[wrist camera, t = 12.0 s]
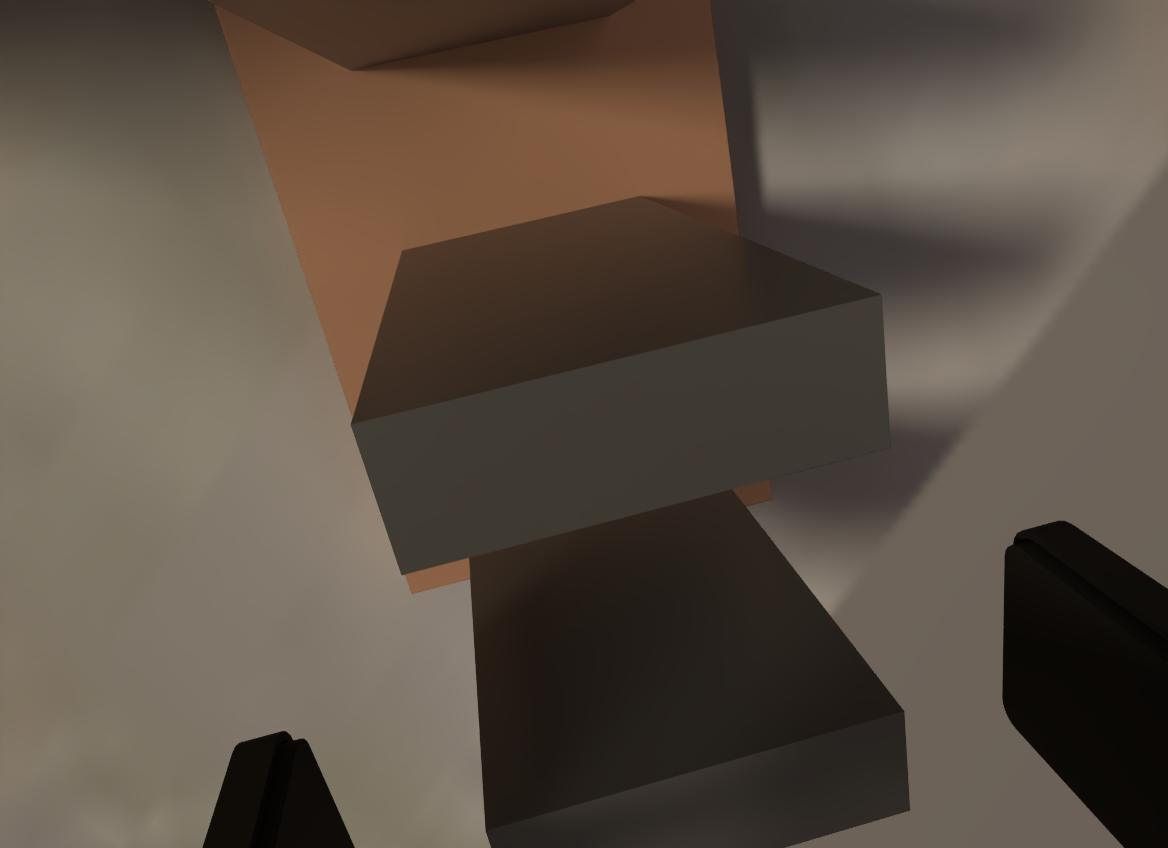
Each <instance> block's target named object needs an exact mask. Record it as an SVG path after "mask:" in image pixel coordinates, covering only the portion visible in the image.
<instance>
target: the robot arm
mask: <svg viewBox="0 0 1168 848" xmlns="http://www.w3.org/2000/svg"><path fill="white" fill-rule="evenodd" d="M1004 572H1005V573H1004V576H1005V577H1004V634H1003V695H1002V697H1003V705H1004V708H1005V711H1006V714H1007V715H1008V718H1009V720H1010V721H1011V723H1012V724H1013V726H1014V727H1015V728H1016V729H1017V731H1018V732H1019V733H1020V734H1021V735H1022V736H1023V737H1024V738H1025V739H1026V740H1027V741H1028V743H1029V744H1030V745H1031V746H1032V747H1033V748H1034V749H1035V750H1036V751H1037V752H1038V754H1039V755H1040V756H1041V757H1042V758H1043V759H1044V760H1045V761H1046V762H1047V763H1048V765H1050V767H1051V768H1052V769H1053V770H1054V771H1055V772H1056V773H1057V774H1058V776H1059V777H1060V778H1061V779H1062V780H1063V781H1064V782H1065V783H1066V784H1067V785H1068V787H1069V788H1070V789H1071V790H1072V791H1073V792H1074V793H1075V794H1076V795H1077V796H1078V797H1079V799H1081V801H1082V802H1083V803H1084V804H1085V805H1086V806H1087V807H1088V808H1089V809H1090V811H1091V812H1092V813H1093V814H1094V815H1095V816H1096V817H1097V818H1098V819H1099V821H1100V822H1101V823H1102V824H1103V825H1104V826H1105V827H1106V828H1107V829H1108V830H1109V832H1110V833H1111V834H1112V835H1114V837H1115V838H1116V839H1117V840H1118V841H1119V842H1120V844H1122V845H1123V847H1124V848H1168V589H1167V588H1165V587H1164V586H1162V585H1161V584H1160V583H1158V582H1157V581H1155V580H1154V579H1152V578H1151V577H1149V576H1148V575H1146V574H1145V573H1143V572H1142V571H1140V570H1139V569H1137V568H1136V567H1134V566H1133V565H1131V564H1130V563H1128V562H1127V561H1126V560H1124V559H1123V558H1121V557H1120V556H1118V555H1117V554H1115V553H1114V552H1112V551H1111V550H1109V549H1108V548H1106V547H1105V546H1103V545H1102V544H1100V543H1099V542H1097V541H1096V540H1095V539H1093V538H1092V537H1090V536H1089V535H1087V534H1086V533H1084V532H1083V531H1081V530H1080V529H1078V528H1077V527H1075V526H1074V525H1072V524H1070V523H1068V522H1066V521H1056V522H1052V523H1048V524H1045V525H1041V526H1037V527H1034V528H1030V529H1027V530H1023V531H1021V532H1018V533H1017V534H1016V536H1015V538H1014V543H1013V545H1011V546H1009V547H1008V548H1007V549H1006V552H1005V571H1004ZM203 848H355V847H354V845H353V843H352V840H351V838H350V836H349V834H348V831H347V829H346V827H345V825H344V822H343V820H342V818H341V816H340V813H339V811H338V809H337V806H336V804H335V802H334V800H333V797H332V795H331V793H330V791H329V788H328V786H327V784H326V782H325V779H324V777H323V775H322V773H321V770H320V768H319V766H318V764H317V761H316V759H315V757H314V755H313V752H312V750H311V748H310V746H309V744H308V742H307V741H306V740H305V739H298V740H294V741H293V739H292V737H291V735H290V734H289V733H287V732H286V731H281V732H278V733H274V734H270V735H267V736H263V737H259V738H256V739H252V740H248V741H244V742H241V743H239V744H238V745H236V746H235V748H234V751H233V753H232V756H231V759H230V762H229V765H228V768H227V772H226V775H225V778H224V781H223V784H222V787H221V791H220V794H219V797H218V800H217V803H216V807H215V810H214V813H213V816H212V819H211V822H210V826H209V829H208V832H207V835H206V838H205V841H204V845H203Z"/></svg>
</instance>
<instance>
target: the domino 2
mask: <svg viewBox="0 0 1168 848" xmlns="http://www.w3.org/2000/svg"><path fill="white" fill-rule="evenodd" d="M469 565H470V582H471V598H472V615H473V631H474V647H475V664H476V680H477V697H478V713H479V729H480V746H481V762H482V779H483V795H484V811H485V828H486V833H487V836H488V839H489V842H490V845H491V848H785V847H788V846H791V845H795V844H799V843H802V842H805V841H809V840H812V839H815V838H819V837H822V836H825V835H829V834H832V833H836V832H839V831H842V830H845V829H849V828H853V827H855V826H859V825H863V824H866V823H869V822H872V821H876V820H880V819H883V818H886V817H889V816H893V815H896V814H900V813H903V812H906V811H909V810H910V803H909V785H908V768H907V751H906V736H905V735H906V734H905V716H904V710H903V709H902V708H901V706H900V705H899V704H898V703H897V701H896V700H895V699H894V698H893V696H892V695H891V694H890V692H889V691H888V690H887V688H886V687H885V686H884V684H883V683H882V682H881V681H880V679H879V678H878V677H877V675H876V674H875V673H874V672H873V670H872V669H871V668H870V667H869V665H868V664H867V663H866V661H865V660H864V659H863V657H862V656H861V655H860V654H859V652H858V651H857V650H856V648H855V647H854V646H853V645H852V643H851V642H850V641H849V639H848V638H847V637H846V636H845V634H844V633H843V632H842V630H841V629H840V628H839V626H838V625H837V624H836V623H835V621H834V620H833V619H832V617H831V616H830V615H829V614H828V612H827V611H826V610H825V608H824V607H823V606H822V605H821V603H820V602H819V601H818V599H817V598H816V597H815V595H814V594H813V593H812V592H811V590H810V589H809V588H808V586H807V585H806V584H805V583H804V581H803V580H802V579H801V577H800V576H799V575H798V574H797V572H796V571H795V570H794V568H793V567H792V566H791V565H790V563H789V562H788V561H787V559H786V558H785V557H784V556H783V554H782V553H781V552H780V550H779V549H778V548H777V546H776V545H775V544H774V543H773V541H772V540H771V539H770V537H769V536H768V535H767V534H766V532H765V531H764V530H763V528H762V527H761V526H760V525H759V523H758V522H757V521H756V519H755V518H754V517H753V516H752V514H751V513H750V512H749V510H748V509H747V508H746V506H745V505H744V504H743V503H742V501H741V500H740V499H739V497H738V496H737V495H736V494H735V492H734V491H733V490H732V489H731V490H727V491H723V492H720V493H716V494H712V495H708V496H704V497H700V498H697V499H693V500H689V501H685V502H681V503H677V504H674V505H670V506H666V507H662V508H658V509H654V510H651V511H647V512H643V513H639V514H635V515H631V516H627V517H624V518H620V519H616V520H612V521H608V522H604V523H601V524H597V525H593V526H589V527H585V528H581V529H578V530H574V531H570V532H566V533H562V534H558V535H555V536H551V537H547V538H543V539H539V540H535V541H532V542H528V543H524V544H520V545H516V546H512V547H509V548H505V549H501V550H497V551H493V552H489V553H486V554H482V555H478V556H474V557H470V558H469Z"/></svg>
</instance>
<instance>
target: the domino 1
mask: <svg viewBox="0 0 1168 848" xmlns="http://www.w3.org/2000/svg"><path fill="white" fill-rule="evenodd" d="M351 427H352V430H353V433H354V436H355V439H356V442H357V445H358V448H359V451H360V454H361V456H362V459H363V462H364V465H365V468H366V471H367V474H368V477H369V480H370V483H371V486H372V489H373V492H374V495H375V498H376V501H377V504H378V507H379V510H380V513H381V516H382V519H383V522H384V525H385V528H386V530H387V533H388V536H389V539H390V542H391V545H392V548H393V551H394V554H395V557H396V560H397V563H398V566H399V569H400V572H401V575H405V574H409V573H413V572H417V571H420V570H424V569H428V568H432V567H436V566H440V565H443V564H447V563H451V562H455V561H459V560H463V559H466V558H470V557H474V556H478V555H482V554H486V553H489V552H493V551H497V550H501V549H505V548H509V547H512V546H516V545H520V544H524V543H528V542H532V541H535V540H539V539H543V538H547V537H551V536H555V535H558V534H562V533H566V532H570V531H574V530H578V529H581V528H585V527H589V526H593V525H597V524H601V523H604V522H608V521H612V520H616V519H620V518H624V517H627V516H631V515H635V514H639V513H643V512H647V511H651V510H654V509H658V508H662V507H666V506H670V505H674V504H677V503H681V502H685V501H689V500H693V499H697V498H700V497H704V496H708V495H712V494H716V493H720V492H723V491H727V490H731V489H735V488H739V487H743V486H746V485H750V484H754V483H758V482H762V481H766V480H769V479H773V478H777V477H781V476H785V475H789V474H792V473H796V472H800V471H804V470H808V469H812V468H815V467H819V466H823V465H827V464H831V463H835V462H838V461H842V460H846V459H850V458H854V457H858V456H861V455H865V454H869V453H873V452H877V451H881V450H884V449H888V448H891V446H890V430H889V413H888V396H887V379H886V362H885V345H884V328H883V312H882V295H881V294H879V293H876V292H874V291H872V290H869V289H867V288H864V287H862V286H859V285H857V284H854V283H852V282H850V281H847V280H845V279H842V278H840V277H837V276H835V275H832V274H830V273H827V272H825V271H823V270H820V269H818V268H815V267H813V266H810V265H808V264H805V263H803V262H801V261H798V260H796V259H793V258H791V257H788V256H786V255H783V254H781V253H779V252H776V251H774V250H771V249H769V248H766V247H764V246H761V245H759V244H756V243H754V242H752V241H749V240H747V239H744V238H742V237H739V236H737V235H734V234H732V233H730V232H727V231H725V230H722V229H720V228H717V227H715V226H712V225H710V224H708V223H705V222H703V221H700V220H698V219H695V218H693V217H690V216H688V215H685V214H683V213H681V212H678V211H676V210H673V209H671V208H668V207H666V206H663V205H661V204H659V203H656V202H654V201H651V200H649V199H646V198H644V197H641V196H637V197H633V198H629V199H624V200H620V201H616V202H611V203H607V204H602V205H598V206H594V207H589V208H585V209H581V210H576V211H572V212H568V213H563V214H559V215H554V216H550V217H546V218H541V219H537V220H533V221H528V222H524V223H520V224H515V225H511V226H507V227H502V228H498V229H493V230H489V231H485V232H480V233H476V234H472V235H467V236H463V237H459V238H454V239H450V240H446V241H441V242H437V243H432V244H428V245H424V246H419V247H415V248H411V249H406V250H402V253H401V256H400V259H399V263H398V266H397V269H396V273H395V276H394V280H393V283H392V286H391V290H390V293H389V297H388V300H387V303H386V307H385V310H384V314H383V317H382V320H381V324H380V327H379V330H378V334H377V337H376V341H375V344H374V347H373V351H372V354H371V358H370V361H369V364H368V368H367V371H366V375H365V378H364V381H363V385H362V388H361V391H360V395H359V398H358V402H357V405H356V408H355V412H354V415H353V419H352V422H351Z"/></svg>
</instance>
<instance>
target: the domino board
mask: <svg viewBox="0 0 1168 848" xmlns="http://www.w3.org/2000/svg"><path fill="white" fill-rule="evenodd" d="M214 7H215V10H216V13H217V16H218V19H219V22H220V25H221V28H222V31H223V34H224V37H225V40H226V43H227V46H228V49H229V52H230V55H231V58H232V61H233V64H234V67H235V70H236V73H237V76H238V79H239V82H240V84H241V87H242V90H243V93H244V96H245V99H246V102H247V105H248V108H249V111H250V114H251V117H252V120H253V123H254V126H255V129H256V132H257V135H258V138H259V141H260V144H261V147H262V150H263V153H264V156H265V159H266V162H267V165H268V168H269V171H270V174H271V177H272V180H273V183H274V186H275V189H276V192H277V195H278V198H279V201H280V204H281V207H282V210H283V212H284V215H285V218H286V221H287V224H288V227H289V230H290V233H291V236H292V239H293V242H294V245H295V248H296V251H297V254H298V257H299V260H300V263H301V266H302V269H303V272H304V275H305V278H306V281H307V284H308V287H309V290H310V293H311V296H312V299H313V302H314V305H315V308H316V311H317V314H318V317H319V320H320V323H321V326H322V329H323V332H324V335H325V338H326V341H327V343H328V346H329V349H330V352H331V355H332V358H333V361H334V364H335V367H336V370H337V373H338V376H339V379H340V382H341V385H342V388H343V391H344V394H345V397H346V400H347V403H348V406H349V409H350V412H351V415H352V418H353V415H354V412H355V408H356V405H357V402H358V398H359V395H360V391H361V388H362V385H363V381H364V378H365V375H366V371H367V368H368V364H369V361H370V358H371V354H372V351H373V347H374V344H375V341H376V337H377V334H378V330H379V327H380V324H381V320H382V317H383V314H384V310H385V307H386V303H387V300H388V297H389V293H390V290H391V286H392V283H393V280H394V276H395V273H396V269H397V266H398V263H399V259H400V256H401V253H402V250H406V249H411V248H415V247H419V246H424V245H428V244H432V243H437V242H441V241H446V240H450V239H454V238H459V237H463V236H467V235H472V234H476V233H480V232H485V231H489V230H493V229H498V228H502V227H507V226H511V225H515V224H520V223H524V222H528V221H533V220H537V219H541V218H546V217H550V216H554V215H559V214H563V213H568V212H572V211H576V210H581V209H585V208H589V207H594V206H598V205H602V204H607V203H611V202H616V201H620V200H624V199H629V198H633V197H637V196H641V197H644V198H646V199H649V200H651V201H654V202H656V203H659V204H661V205H663V206H666V207H668V208H671V209H673V210H676V211H678V212H681V213H683V214H685V215H688V216H690V217H693V218H695V219H698V220H700V221H703V222H705V223H708V224H710V225H712V226H715V227H717V228H720V229H722V230H725V231H727V232H730V233H732V234H734V235H737V236H739V237H740V235H739V227H738V219H737V211H736V203H735V195H734V187H733V179H732V171H731V163H730V155H729V147H728V139H727V130H726V122H725V114H724V106H723V98H722V90H721V82H720V74H719V66H718V58H717V50H716V42H715V34H714V26H713V18H712V10H711V2H710V0H636V1H634V2H632V3H631V4H629V5H627V6H626V7H624V8H622V9H621V10H619V11H617V12H616V13H614V14H612V15H610V16H607V17H603V18H598V19H593V20H588V21H584V22H579V23H574V24H569V25H565V26H560V27H555V28H550V29H546V30H541V31H536V32H531V33H527V34H522V35H517V36H513V37H508V38H503V39H498V40H494V41H489V42H484V43H479V44H475V45H470V46H465V47H460V48H456V49H451V50H446V51H441V52H437V53H432V54H427V55H422V56H418V57H413V58H408V59H404V60H399V61H394V62H389V63H385V64H380V65H375V66H370V67H366V68H361V69H356V70H351V71H350V70H348V69H346V68H344V67H342V66H340V65H338V64H336V63H334V62H332V61H330V60H328V59H326V58H324V57H322V56H320V55H318V54H316V53H313V52H311V51H309V50H307V49H305V48H303V47H301V46H299V45H297V44H295V43H293V42H291V41H289V40H287V39H285V38H283V37H281V36H279V35H277V34H274V33H272V32H270V31H268V30H266V29H264V28H262V27H260V26H258V25H256V24H254V23H252V22H250V21H248V20H246V19H244V18H242V17H240V16H237V15H235V14H233V13H231V12H229V11H227V10H225V9H223V8H221V7H219V6H217V5H215V4H214ZM732 490H733V491H734V492H735V494H736V495H737V496H738V497H739V499H740V500H741V501H742V503H743V504H744V505H745V506H749V505H753V504H756V503H760V502H764V501H768V500H772V492H771V484H770V479H769V480H766V481H762V482H758V483H754V484H750V485H746V486H743V487H739V488H735V489H732ZM405 576H406V579H407V582H408V585H409V588H410V591H411V594H414V593H418V592H422V591H426V590H429V589H433V588H437V587H441V586H445V585H448V584H452V583H456V582H460V581H464V580H467V579H470V565H469V558H466V559H463V560H459V561H455V562H451V563H447V564H443V565H440V566H436V567H432V568H428V569H424V570H420V571H417V572H413V573H409V574H405Z"/></svg>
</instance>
